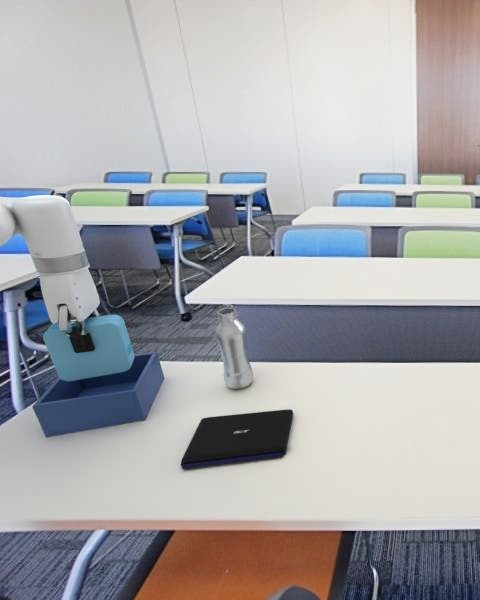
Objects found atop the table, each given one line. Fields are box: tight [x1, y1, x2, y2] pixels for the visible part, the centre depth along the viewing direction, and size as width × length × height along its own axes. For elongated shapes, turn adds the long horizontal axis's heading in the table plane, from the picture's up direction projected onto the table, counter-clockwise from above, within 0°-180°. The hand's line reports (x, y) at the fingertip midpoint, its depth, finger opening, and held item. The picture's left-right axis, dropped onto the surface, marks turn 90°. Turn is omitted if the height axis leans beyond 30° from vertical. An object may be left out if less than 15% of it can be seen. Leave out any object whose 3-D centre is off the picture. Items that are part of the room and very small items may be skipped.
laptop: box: [180, 408, 294, 470], centre depth 81 cm, size 16×20×2 cm
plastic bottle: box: [214, 307, 254, 390], centre depth 95 cm, size 6×7×20 cm
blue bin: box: [32, 351, 165, 438], centre depth 88 cm, size 17×17×8 cm
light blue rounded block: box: [42, 314, 136, 381], centre depth 84 cm, size 12×4×12 cm, turn 117°
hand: (90, 344), depth 83 cm, fingers closed on light blue rounded block, 4 cm apart
